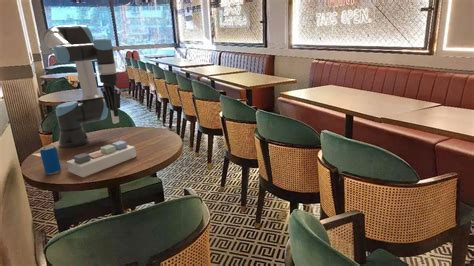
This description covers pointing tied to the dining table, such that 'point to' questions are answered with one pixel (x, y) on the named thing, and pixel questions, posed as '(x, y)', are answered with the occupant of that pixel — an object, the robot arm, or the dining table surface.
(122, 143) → the slate key
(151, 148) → the dining table surface
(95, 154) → the terracotta key
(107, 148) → the sage key
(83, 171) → the keypad
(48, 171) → the beverage can
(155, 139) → the dining table surface
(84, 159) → the charcoal key
